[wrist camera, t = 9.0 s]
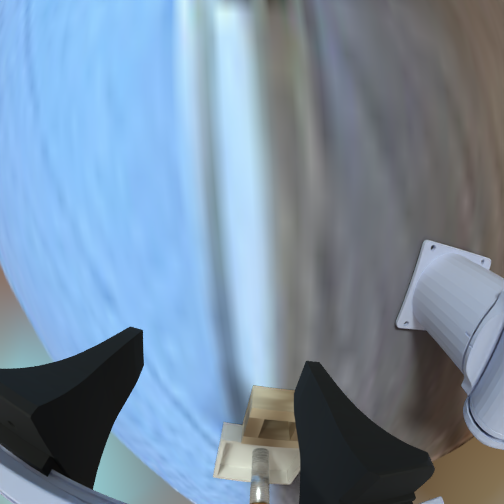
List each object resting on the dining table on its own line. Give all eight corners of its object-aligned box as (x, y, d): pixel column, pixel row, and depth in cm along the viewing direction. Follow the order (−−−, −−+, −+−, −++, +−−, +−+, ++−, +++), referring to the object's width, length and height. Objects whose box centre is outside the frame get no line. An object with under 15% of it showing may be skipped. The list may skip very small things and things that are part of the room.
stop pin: (271, 447, 27) (271, 508, 18) (270, 456, 27) (270, 515, 19) (250, 446, 27) (247, 508, 18) (250, 456, 27) (247, 515, 19)
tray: (312, 431, 26) (315, 447, 24) (289, 470, 29) (290, 484, 27) (223, 422, 26) (221, 439, 24) (215, 462, 29) (213, 477, 26)
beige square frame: (314, 392, 24) (318, 413, 22) (297, 427, 26) (299, 448, 23) (253, 385, 24) (251, 407, 21) (242, 422, 26) (241, 443, 23)
